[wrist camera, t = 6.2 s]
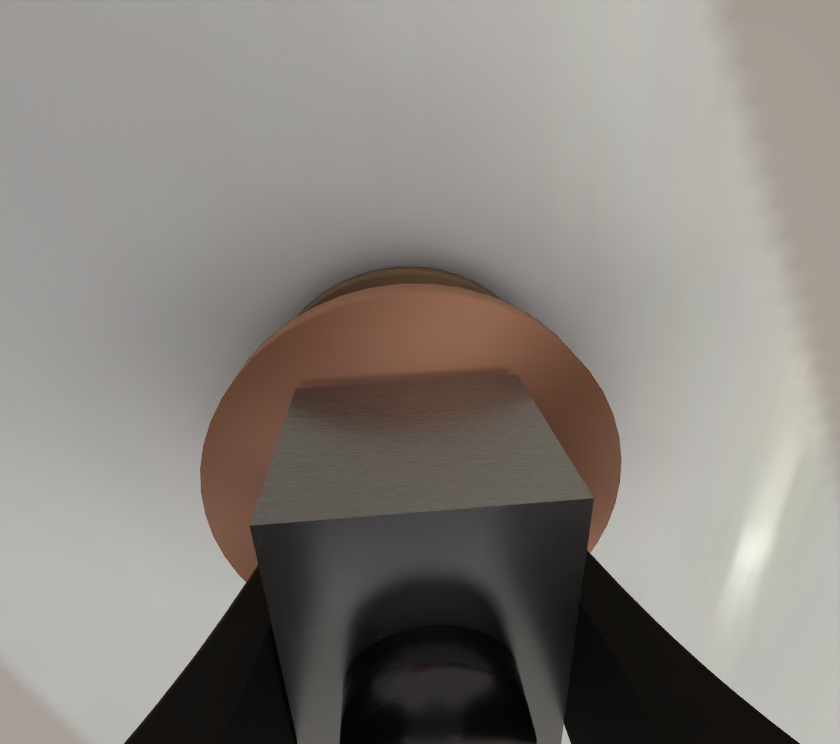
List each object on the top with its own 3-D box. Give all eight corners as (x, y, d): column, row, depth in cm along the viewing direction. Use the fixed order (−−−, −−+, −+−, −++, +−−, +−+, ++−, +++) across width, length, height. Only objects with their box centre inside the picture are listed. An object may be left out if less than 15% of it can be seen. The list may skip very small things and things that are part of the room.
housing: (332, 632, 13) (309, 895, 8) (296, 388, 10) (228, 589, 5) (504, 615, 13) (572, 864, 9) (516, 374, 10) (628, 553, 6)
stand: (192, 418, 16) (116, 522, 12) (391, 173, 14) (394, 185, 9) (418, 562, 19) (428, 688, 15) (617, 386, 17) (703, 474, 12)
